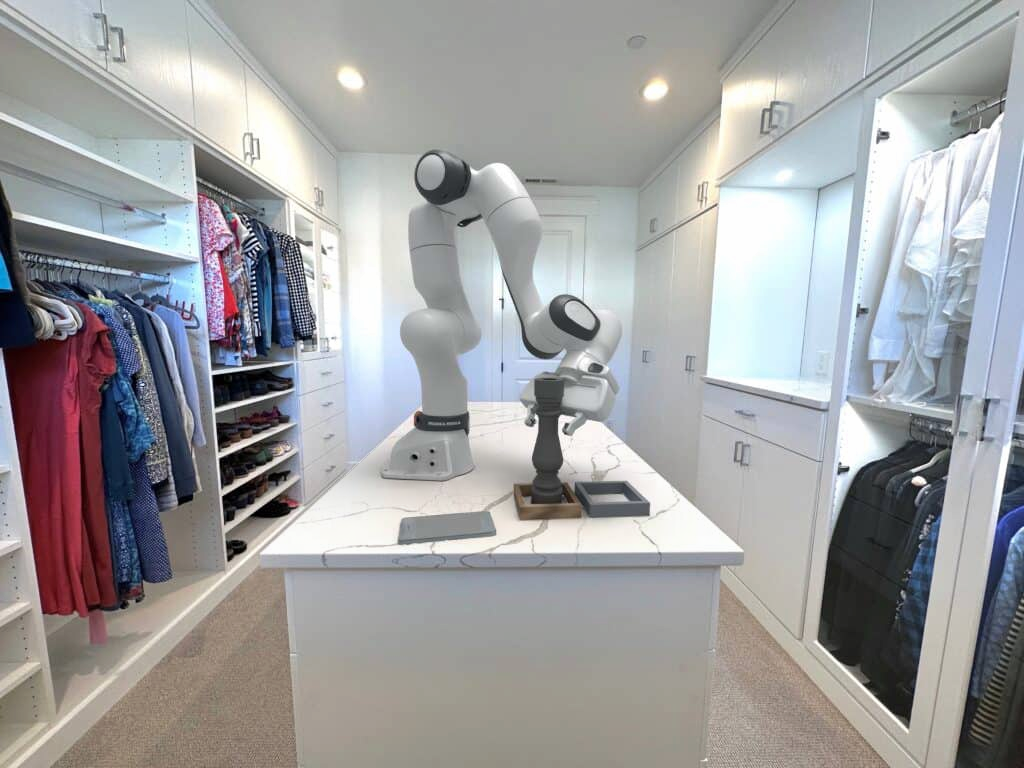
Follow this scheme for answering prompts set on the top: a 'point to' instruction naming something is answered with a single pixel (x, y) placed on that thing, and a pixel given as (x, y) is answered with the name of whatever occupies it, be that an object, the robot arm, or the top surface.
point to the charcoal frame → (611, 509)
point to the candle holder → (547, 442)
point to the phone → (446, 527)
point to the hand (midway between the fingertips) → (546, 429)
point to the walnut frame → (546, 510)
